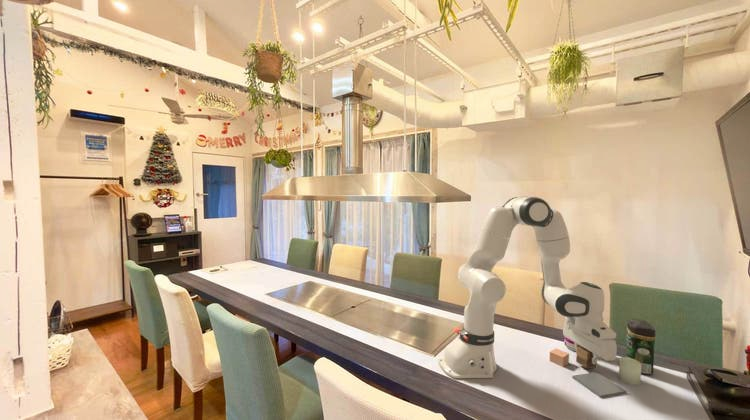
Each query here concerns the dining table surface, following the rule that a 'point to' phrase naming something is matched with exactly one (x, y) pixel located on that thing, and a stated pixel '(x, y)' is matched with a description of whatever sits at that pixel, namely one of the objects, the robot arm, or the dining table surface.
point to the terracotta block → (559, 357)
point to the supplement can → (569, 343)
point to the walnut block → (584, 357)
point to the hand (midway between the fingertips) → (586, 358)
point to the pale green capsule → (630, 371)
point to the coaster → (599, 384)
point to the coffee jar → (641, 344)
